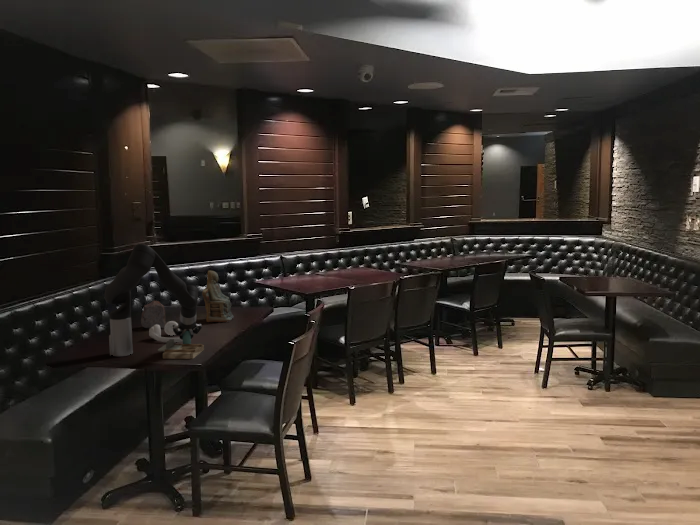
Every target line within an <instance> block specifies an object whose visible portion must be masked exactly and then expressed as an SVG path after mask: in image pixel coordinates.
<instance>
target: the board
mask: <svg viewBox="0 0 700 525" xmlns="http://www.w3.org/2000/svg"><path fill="white" fill-rule="evenodd" d="M174 345H182V347H181V348H180V349H165V351H163V353H162V359H168V360H169V359H170V360H171V359H172V360H173V359H175V360H177V359H178V360H179V359H180V360H186V359H187V360H188V359H190V360H192V359H193V360H194V358H196V357H197V356H198V355H200V354H201V353H202V352H203V351H204V350H205V345H204V344H202V343H191V344H183V343H174Z"/></svg>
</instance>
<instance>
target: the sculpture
mask: <svg viewBox="0 0 700 525" xmlns="http://www.w3.org/2000/svg"><path fill="white" fill-rule="evenodd" d="M218 281H219V275H218V272H216V271H214V270H207V282H206V283H207V284H206V287H205V288H204V289H203V290H202V297H203V301H204V304H205V306H204V309H205V310H206V317H205V319H206V323H207V322H227V321H231V320H232V318H233V319H234V318H235V316H234V315H233V313H232V310H231V309H232V307H231V305H232V304H231V300H230V297H229V296H228V295H225V294H223V292H222V290H221V288H220V286H219V284H218ZM232 321H233V320H232ZM232 321H231V322H232ZM227 323H228V322H227Z"/></svg>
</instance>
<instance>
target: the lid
mask: <svg viewBox="0 0 700 525" xmlns="http://www.w3.org/2000/svg"><path fill="white" fill-rule="evenodd" d="M174 344H175V343H174V339H170V340H169V341H167V342H165V344H163V345H162V346H161V347H159V348H158V349H157V351H158V352H165V349H180V348H181V347H182V345H174Z"/></svg>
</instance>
